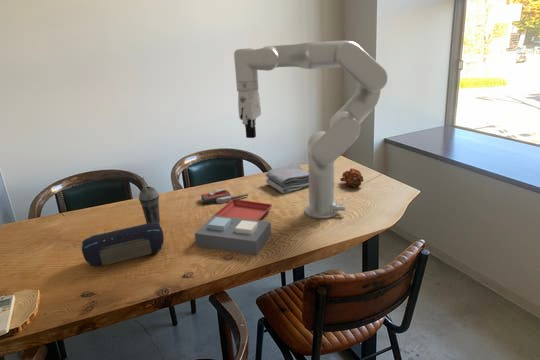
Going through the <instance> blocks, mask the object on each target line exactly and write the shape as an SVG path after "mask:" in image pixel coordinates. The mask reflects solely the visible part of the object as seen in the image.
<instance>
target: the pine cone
mask: <svg viewBox="0 0 540 360" xmlns="http://www.w3.org/2000/svg"><path fill="white" fill-rule="evenodd" d="M341 177H342V178H341ZM341 177H340V178H339V179H340V182H344V183H345V185H346V186H347V187H353V188H357V187H359V186H361V185H362V182H364V176H363V174H362V172H361V171H360V170H358V169H356V168H351V167H350V168H349V170H345V171H344V172H342V176H341Z"/></svg>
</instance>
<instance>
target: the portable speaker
mask: <svg viewBox="0 0 540 360" xmlns="http://www.w3.org/2000/svg"><path fill="white" fill-rule="evenodd" d="M164 240H165V239H164V231H163V229H162V227H161V223H160V224H156V223H144V224H140V225H134V226H130V227H126V228H122V229H121V228H120V229H117V230H113V231H112V230H111V231H108V232H103V233H100V234H94V235H92V236H90V237H88V238H85V239H84V240H82V241H81V243H82V245H81V251H82V256H83V257H84V261H86V263H87V264H89V266H90V267H94V268H100V267H103V266H107V265H113V264H115V263H118V262H119V263H120V262H123V261H127V260H130V259H135V258H139V257H144V256H147V255H151V254H155V253H158V252H159V251H160V250H162V246H163V244H164Z"/></svg>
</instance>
